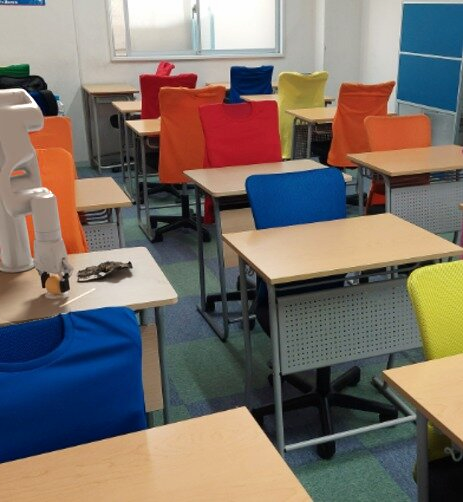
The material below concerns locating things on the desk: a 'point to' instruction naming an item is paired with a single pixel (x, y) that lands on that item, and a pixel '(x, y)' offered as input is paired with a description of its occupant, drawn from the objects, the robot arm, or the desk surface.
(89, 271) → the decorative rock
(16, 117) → the robot arm
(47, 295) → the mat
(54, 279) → the ball
